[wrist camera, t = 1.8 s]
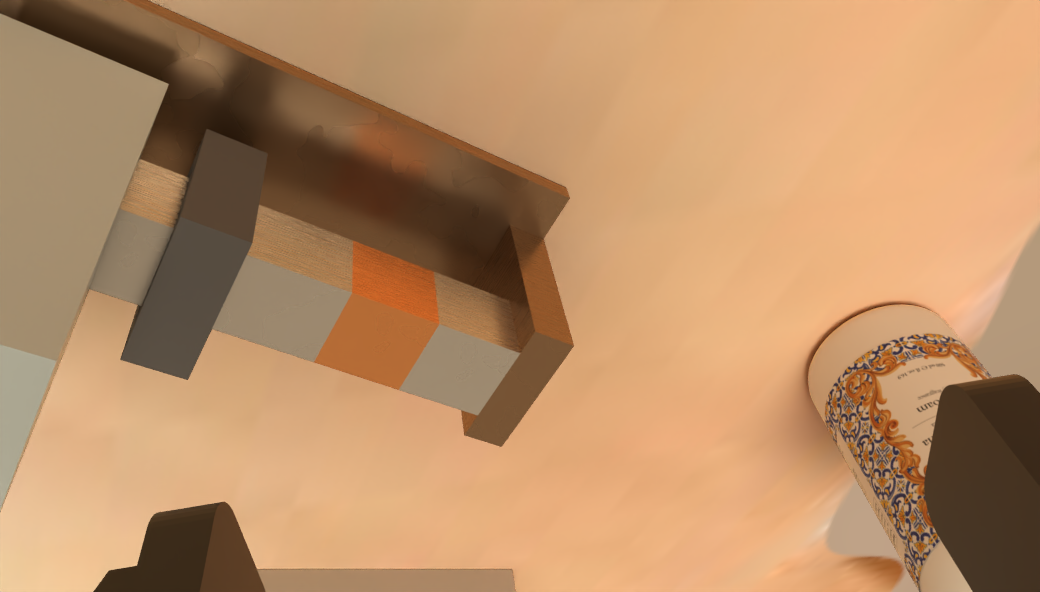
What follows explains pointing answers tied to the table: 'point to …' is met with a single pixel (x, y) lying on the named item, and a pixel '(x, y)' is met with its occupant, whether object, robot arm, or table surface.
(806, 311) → the table surface
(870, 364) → the bath foam
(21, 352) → the pale grey rectangular block
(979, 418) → the robot arm
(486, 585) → the envelope
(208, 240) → the gray brick
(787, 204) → the table surface
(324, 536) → the table surface
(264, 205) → the rail
